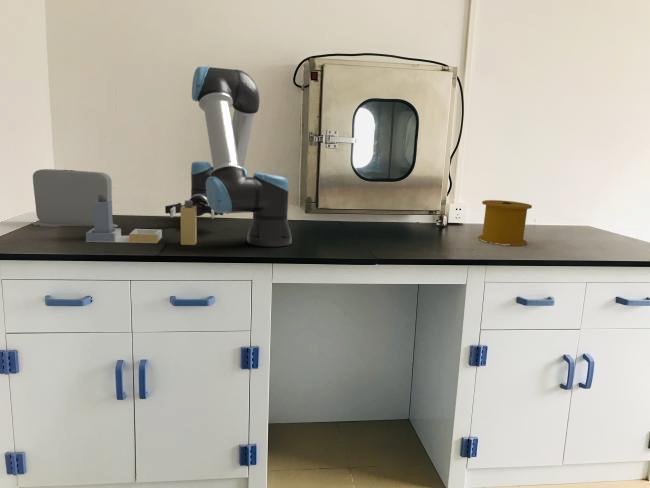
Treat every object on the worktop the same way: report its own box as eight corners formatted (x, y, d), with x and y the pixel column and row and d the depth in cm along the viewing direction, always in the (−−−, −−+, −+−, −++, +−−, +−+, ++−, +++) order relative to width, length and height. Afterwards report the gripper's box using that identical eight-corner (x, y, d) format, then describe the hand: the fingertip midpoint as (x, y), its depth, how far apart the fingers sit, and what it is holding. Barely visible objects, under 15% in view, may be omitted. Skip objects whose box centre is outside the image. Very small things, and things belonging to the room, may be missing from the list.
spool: (515, 248, 191) (520, 207, 187) (469, 239, 202) (474, 201, 199) (534, 242, 204) (539, 204, 200) (490, 234, 215) (494, 198, 212)
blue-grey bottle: (113, 237, 171) (111, 194, 168) (109, 240, 166) (107, 196, 163) (98, 236, 170) (96, 193, 167) (94, 239, 166) (92, 195, 163)
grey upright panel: (122, 226, 195) (120, 171, 190) (109, 230, 185) (106, 174, 181) (42, 220, 197) (39, 166, 193) (25, 224, 188) (21, 168, 183)
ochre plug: (196, 241, 175) (196, 200, 172) (195, 244, 170) (195, 202, 167) (182, 241, 174) (182, 199, 171) (180, 244, 170) (180, 201, 167)
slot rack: (162, 239, 176) (162, 229, 175) (157, 246, 166) (156, 235, 165) (94, 237, 173) (94, 227, 172) (85, 244, 163) (84, 233, 162)
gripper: (231, 215, 203) (228, 225, 182) (164, 213, 199) (154, 223, 179) (231, 196, 201) (229, 204, 181) (164, 193, 198) (154, 202, 177)
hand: (192, 214), depth 180 cm, fingers open, 13 cm apart
